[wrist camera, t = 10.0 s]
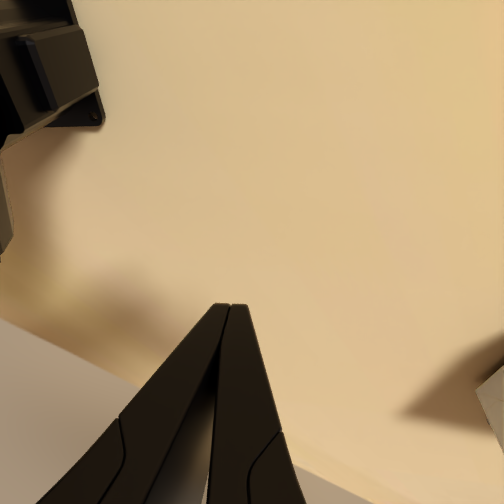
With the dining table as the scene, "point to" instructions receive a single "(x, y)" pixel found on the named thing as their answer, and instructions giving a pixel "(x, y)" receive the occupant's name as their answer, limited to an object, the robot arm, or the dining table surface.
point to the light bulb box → (494, 403)
